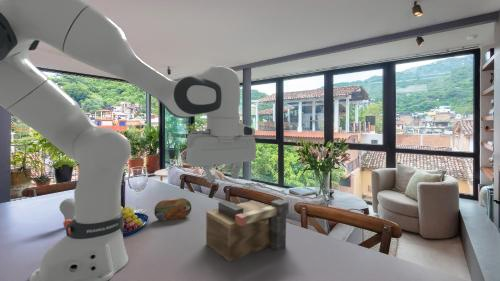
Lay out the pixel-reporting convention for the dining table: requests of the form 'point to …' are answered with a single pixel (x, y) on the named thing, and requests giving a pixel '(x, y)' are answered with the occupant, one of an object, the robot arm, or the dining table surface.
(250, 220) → the light wooden bar
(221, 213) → the lid
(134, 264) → the dining table surface
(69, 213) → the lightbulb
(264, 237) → the toolbox
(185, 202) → the tin
